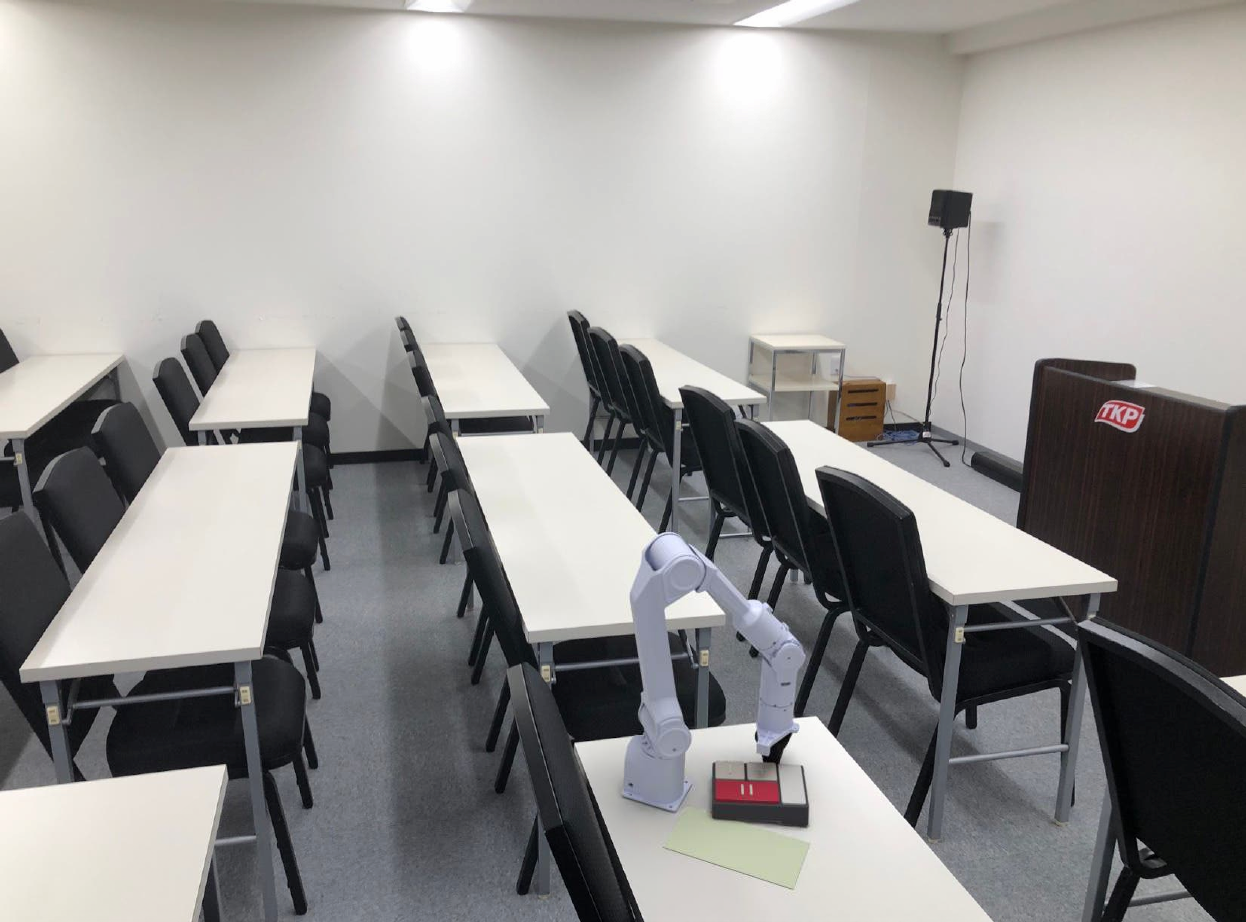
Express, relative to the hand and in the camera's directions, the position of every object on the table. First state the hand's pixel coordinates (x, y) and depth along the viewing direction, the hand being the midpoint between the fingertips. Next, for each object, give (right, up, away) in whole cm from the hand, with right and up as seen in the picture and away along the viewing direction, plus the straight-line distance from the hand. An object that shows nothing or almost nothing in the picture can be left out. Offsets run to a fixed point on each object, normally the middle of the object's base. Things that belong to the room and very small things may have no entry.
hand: (770, 768), depth 159 cm
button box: (-3, -3, -6) cm, 8 cm away
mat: (-8, -6, -16) cm, 19 cm away
